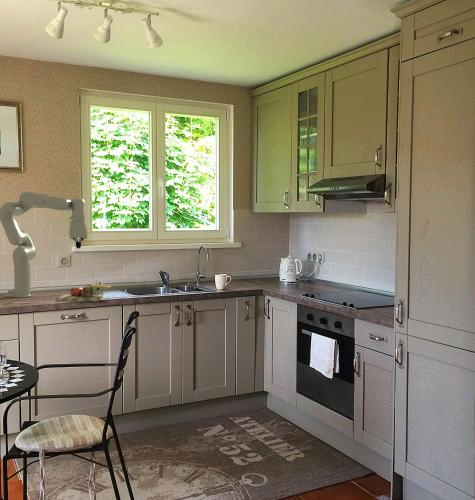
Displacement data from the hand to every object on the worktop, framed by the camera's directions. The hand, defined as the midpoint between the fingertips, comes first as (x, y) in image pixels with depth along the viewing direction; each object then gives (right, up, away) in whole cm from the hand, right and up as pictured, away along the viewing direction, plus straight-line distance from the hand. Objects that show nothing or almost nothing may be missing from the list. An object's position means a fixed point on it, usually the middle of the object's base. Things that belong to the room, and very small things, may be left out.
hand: (78, 248), depth 351 cm
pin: (+7, -29, -5) cm, 31 cm away
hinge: (+7, -31, +16) cm, 36 cm away
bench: (+3, -32, -5) cm, 32 cm away
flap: (+10, -23, -5) cm, 26 cm away
